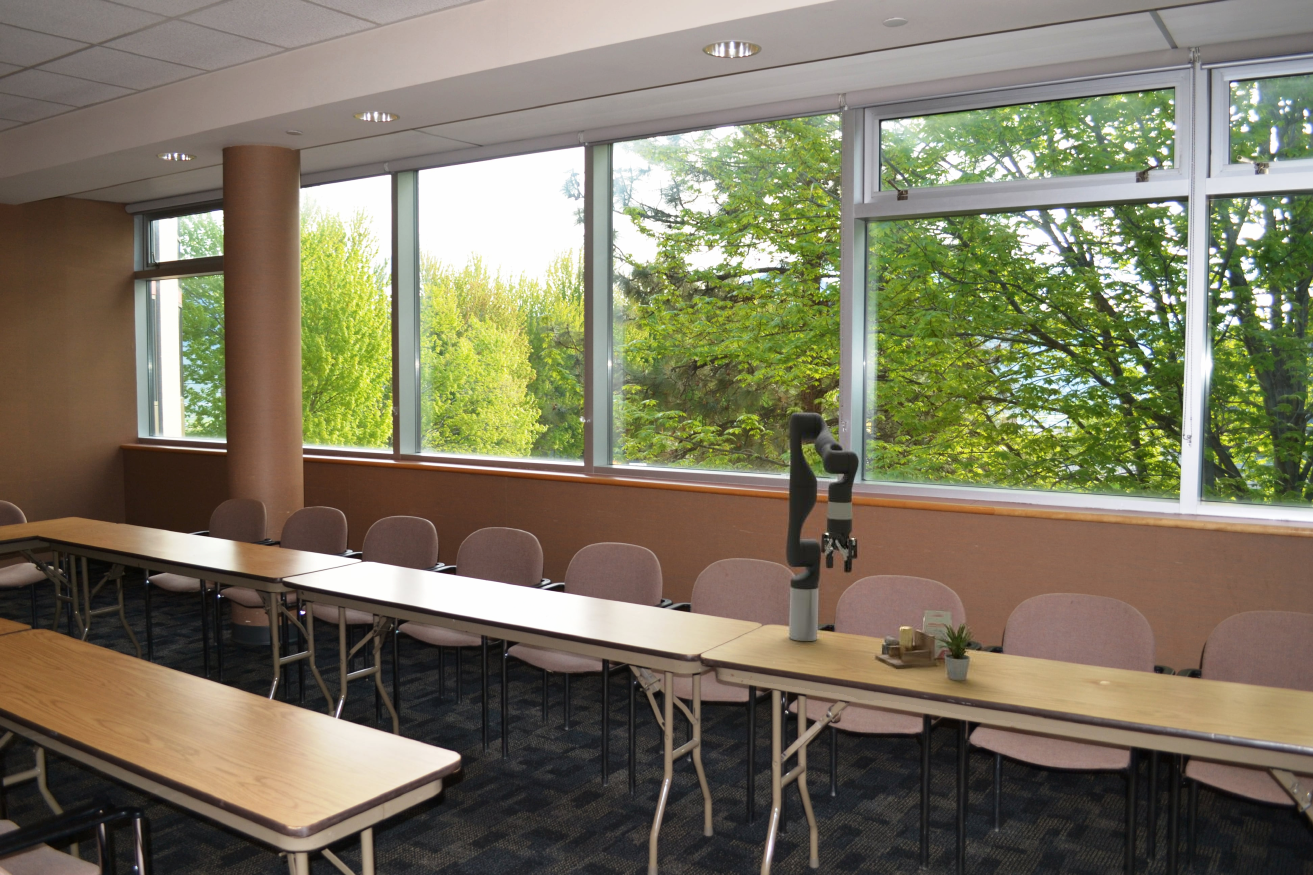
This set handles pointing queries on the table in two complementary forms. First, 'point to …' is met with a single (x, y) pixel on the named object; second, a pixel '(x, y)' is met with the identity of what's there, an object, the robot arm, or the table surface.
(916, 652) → the cradle
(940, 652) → the ink cartridge box
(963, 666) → the house plant
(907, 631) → the spacer
